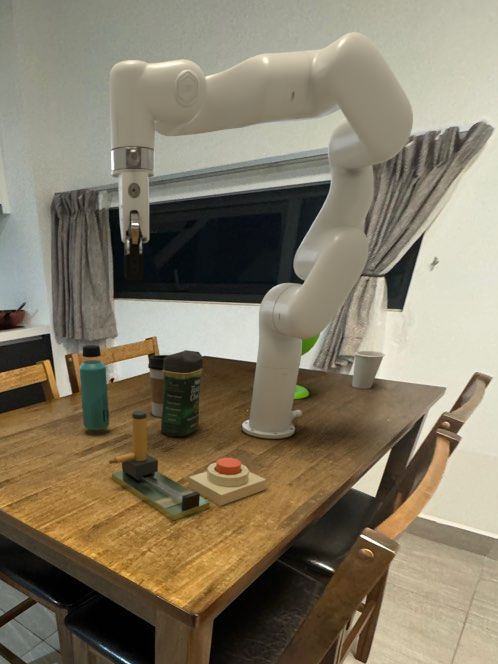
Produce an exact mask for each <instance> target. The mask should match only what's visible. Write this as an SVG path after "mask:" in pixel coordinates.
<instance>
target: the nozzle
mask: <svg viewBox="0 0 498 664" xmlns="http://www.w3.org/2000/svg"><path fill="white" fill-rule="evenodd" d="M147 417H148V416H147V411H145V410H134V411H132V412H131V425H132V426H131V428H132V431H131V432H132V452H130V453H126V454H122V455H119V456H115V457H114V458H113V459H109V461H108V463H109V464H110V465H112V464H115V465H117V464H121V469H122V471H123V470H125V472H126V473H128V474H129V475H131V476H132V477H134V478H136V479H137V480H139V481H141V480H142V476H144V475H148V474H149V475H151V476H152V477H154V476H155V472H159V460H158V459H157V458H155V457H153V456H152V455H150V454H148V453H147V451H148V450H147V448H148V447H147V444H148V443H147V442H148V439H147V430H148V429H147V427H148V426H147V424H148V423H147V421H148V420H147Z"/></svg>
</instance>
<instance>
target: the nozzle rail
mask: <svg viewBox="0 0 498 664" xmlns="http://www.w3.org/2000/svg"><path fill="white" fill-rule="evenodd" d="M111 479H112V480H113V481H115V483H117V484H118V485H120V486H121V487H123V488H124V489H126V490H127V491H129V492H130V493H132V494H133V495H134V496H136V497H137V498H139V499H141V500H142V501H143V502H145V503H146V504H147V505H149V506H150V507H152V508H154V509H155V510H156V511H157V512H159V513H160V514H162V515H164V517H166V518H168V519H169V520H171V521H172V522H175V521H177V520H181V519H183V518H187V517H188V516H192V515H195V514H197V513H200V512H202V511H205V510H208V509H210V508H211V501H210V500H208V499H207V498H206V499H205V497H203V496H201V494H200V493H198V492H195V491H193V490H191V489H188V487H185V486H184V485H181V483H178V482H177V481H175V480H174V479H172V478H169V477H168V476H166V475H165V474H163V473H161V472H159V471H158V472H155V476H154V477H152V476H151V475H149V474H148V475H144V476H142V480H141V481H139V480H137V479H136V478H134V477H132V476H131V475H129V474H128V473H126V472H125V470H123V469H122V470H119V471H115V472H112V473H111Z"/></svg>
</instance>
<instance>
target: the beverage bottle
mask: <svg viewBox="0 0 498 664" xmlns="http://www.w3.org/2000/svg"><path fill="white" fill-rule="evenodd" d="M101 356H102V354H101V347H100V346H99V345H96V344H89V345H83V346H82V357H83V358H97V357H101ZM78 370H79V380H80V391H81V393H80V394H81V405H82V406H81V407H82V420H83V425H84V428H86V429H88V430H92V431H99V430H104V429H107V428H108V427H109V425H110V414H109V395H108V383H107V366H106V364H105V363H104V362H103V361H101V360H98V359H90V360H83V362H82V363H81V364H80V365H79V368H78Z"/></svg>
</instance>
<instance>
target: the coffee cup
mask: <svg viewBox="0 0 498 664" xmlns="http://www.w3.org/2000/svg"><path fill="white" fill-rule="evenodd" d="M168 355H169V354H158V355H152V356H150V357H149V363H148V364H147V365H148V366H147V368H148V369H149V375H148V377H149V389H150V400H151V414H152V415H153V416H155V417H158V418H162V409H163V395H164V375H163V364H164V358H165V357H167V356H168Z"/></svg>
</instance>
